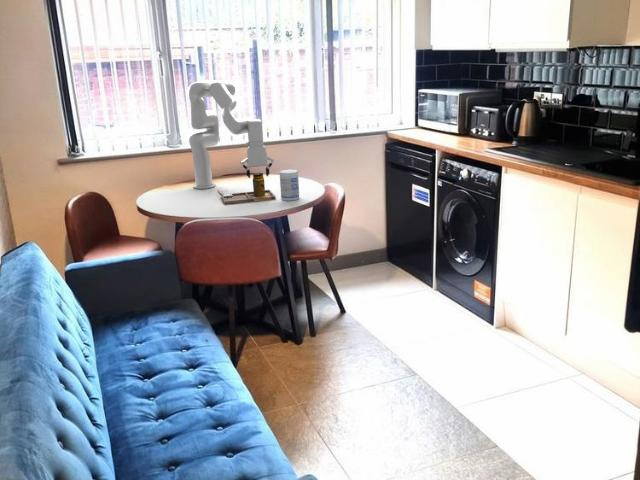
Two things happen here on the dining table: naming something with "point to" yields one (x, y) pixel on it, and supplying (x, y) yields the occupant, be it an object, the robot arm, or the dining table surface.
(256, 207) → the dining table surface
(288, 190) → the supplement tub
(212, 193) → the dining table surface
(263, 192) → the condiment
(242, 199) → the divided wooden tray
